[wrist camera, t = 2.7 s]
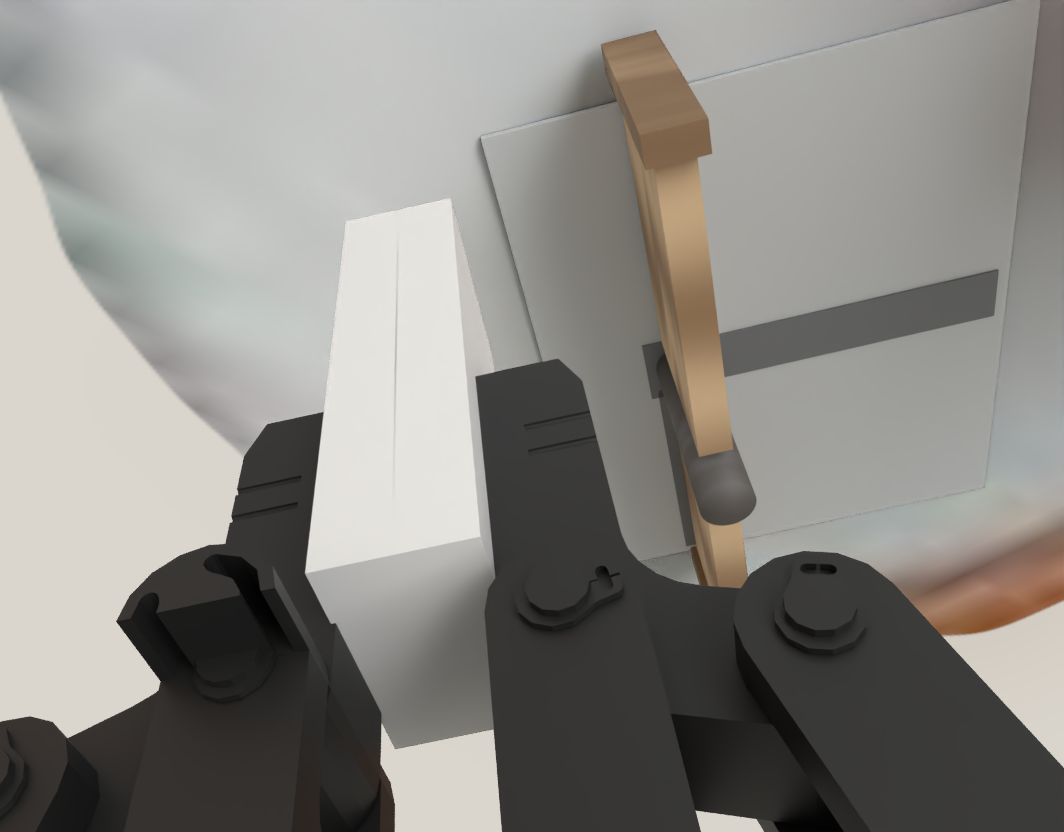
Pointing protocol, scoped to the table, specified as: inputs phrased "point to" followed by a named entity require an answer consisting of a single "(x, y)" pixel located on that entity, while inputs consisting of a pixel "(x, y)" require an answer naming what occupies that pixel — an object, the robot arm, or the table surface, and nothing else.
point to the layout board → (798, 271)
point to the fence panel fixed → (712, 498)
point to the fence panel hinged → (674, 224)
